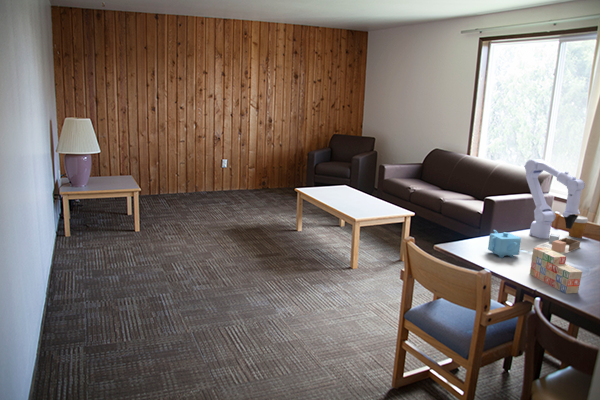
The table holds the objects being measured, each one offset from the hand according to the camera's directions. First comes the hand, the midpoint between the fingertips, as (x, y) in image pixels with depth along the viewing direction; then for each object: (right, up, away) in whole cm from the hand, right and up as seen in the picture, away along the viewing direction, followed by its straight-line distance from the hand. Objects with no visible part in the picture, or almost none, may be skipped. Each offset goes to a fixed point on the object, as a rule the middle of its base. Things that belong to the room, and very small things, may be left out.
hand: (568, 228), depth 246 cm
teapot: (-40, -12, -13) cm, 44 cm away
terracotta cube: (-10, -11, -9) cm, 17 cm away
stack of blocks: (-33, -20, -47) cm, 61 cm away
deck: (-8, -11, -3) cm, 13 cm away
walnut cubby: (-2, -9, -3) cm, 10 cm away
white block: (-6, -8, +4) cm, 10 cm away
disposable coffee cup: (+14, -7, +18) cm, 24 cm away
